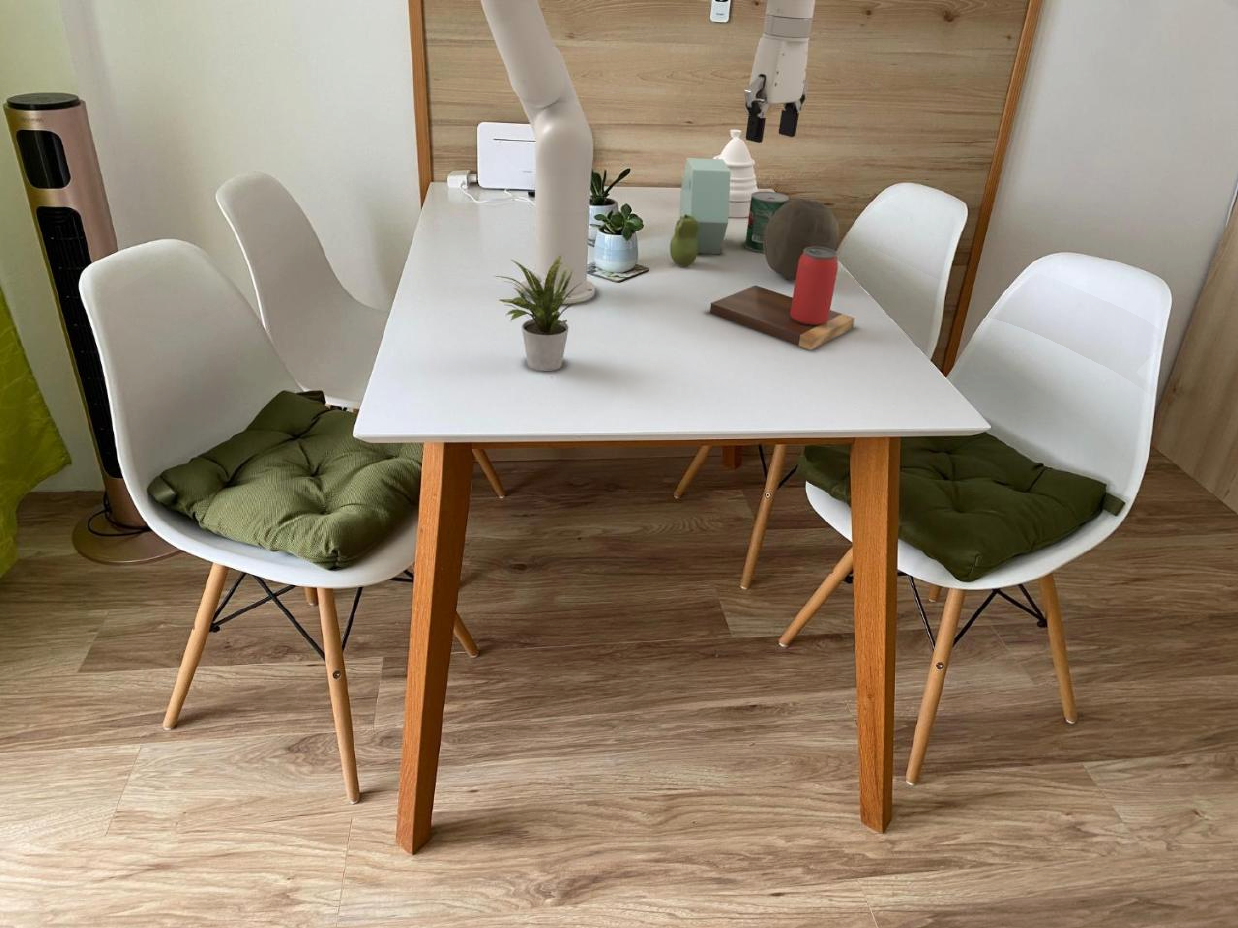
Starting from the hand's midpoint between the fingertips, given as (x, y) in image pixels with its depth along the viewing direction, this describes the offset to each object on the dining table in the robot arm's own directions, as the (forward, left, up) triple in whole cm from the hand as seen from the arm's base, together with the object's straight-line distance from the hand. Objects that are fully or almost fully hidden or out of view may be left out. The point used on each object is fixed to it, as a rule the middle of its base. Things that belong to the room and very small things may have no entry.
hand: (770, 138), depth 156 cm
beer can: (-6, -16, -27) cm, 32 cm away
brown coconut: (+16, 0, -29) cm, 33 cm away
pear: (+4, +19, -29) cm, 35 cm away
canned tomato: (+27, +15, -29) cm, 42 cm away
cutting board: (-6, -11, -28) cm, 31 cm away
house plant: (-49, +5, -29) cm, 57 cm away
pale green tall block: (+16, +24, -29) cm, 41 cm away
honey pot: (+45, +37, -29) cm, 65 cm away
